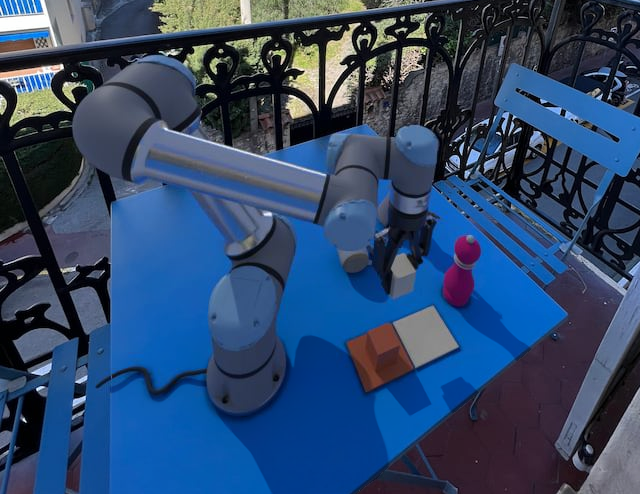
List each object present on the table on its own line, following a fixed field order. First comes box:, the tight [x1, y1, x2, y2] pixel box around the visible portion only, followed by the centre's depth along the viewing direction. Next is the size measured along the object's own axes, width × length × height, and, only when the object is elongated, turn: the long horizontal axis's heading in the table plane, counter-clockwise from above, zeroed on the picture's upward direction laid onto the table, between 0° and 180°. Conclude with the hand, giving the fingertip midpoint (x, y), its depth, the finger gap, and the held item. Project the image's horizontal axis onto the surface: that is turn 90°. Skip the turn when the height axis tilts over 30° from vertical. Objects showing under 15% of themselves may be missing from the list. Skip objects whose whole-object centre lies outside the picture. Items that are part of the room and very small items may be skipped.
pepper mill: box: [442, 234, 482, 308], centre depth 95 cm, size 7×7×20 cm
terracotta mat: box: [346, 322, 415, 394], centre depth 85 cm, size 11×10×1 cm
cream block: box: [389, 252, 417, 300], centre depth 85 cm, size 5×5×6 cm
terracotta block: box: [365, 322, 400, 372], centre depth 84 cm, size 5×5×6 cm
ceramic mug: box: [336, 243, 374, 274], centre depth 104 cm, size 11×8×8 cm
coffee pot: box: [377, 182, 443, 228], centre depth 112 cm, size 21×12×15 cm, turn 35°
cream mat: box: [392, 305, 460, 369], centre depth 90 cm, size 11×10×1 cm
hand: (397, 284), depth 86 cm, fingers closed on cream block, 5 cm apart
